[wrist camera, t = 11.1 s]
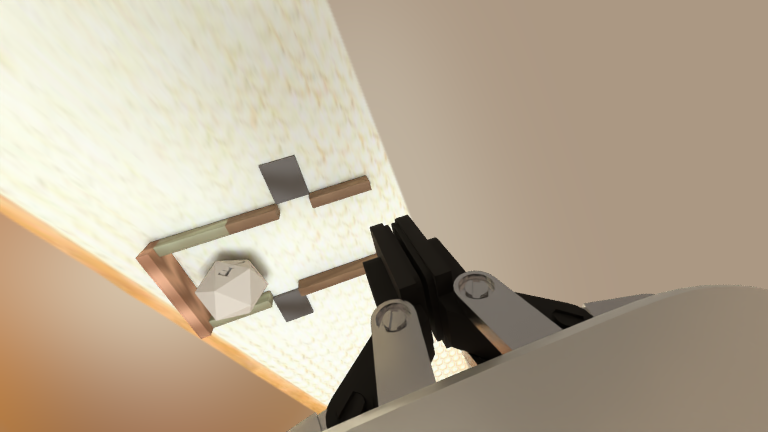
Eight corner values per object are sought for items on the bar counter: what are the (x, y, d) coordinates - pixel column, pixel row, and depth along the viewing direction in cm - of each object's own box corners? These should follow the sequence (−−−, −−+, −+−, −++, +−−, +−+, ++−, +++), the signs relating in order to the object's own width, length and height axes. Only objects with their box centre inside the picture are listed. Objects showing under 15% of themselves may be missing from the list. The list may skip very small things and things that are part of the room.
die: (279, 264, 47) (253, 265, 38) (265, 317, 46) (235, 331, 37) (232, 254, 48) (194, 252, 38) (216, 306, 46) (173, 318, 37)
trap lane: (121, 205, 37) (103, 218, 34) (355, 137, 41) (360, 142, 38) (225, 342, 50) (220, 362, 47) (394, 281, 54) (401, 295, 51)
